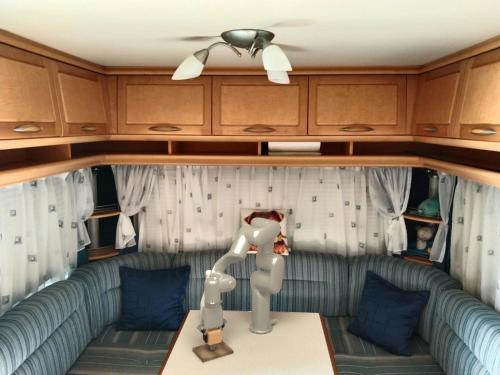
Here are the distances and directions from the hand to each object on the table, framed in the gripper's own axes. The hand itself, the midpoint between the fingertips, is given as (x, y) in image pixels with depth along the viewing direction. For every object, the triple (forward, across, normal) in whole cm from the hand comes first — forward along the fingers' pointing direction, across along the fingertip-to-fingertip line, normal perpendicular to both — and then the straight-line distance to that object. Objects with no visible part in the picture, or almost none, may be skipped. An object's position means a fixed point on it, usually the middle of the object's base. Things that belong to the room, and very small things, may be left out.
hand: (212, 339), depth 212 cm
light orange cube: (+1, 0, 0) cm, 1 cm away
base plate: (+7, 0, 0) cm, 7 cm away
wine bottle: (+7, -12, -28) cm, 31 cm away
